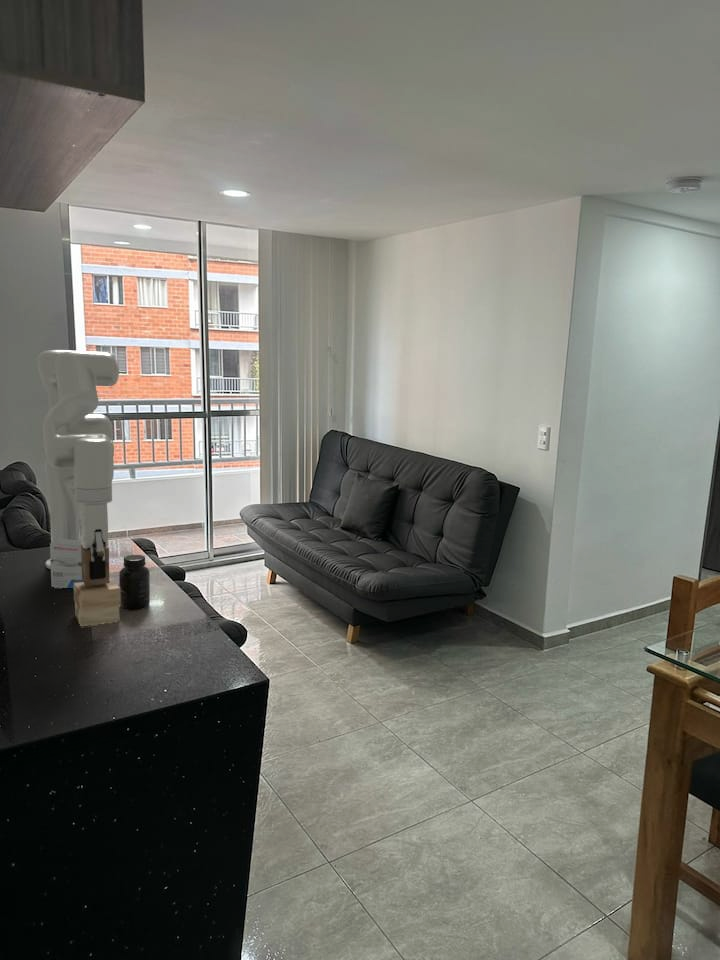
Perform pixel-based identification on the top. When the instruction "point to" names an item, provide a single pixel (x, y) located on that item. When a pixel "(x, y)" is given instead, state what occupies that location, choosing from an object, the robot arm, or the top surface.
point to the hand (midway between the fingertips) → (95, 573)
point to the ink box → (65, 563)
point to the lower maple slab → (97, 615)
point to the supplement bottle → (134, 583)
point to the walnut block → (86, 570)
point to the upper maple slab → (97, 595)
